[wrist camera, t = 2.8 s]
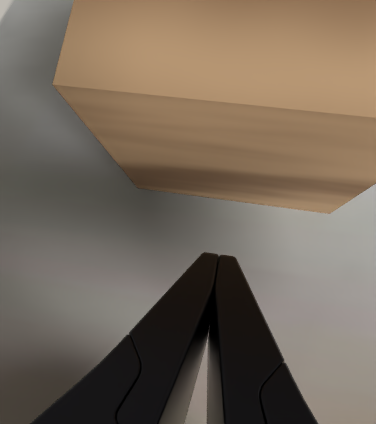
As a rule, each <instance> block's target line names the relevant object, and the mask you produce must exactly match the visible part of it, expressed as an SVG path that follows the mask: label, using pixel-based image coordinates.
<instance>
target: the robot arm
mask: <svg viewBox="0 0 376 424" xmlns="http://www.w3.org/2000/svg"><path fill="white" fill-rule="evenodd" d="M209 326H210V327H209ZM208 332H209V336H208ZM207 338H208V371H207V424H318V422H317V421H316V419H315V417H314V416H313V414H312V412H311V411H310V409H309V407H308V405H307V404H306V402H305V400H304V398H303V396H302V394H301V392H300V390H299V389H298V387H297V385H296V383H295V381H294V379H293V377H292V375H291V373H290V370H289V368H288V366H287V364H286V363H284V358H283V356H282V354H281V352H280V350H279V348H278V345H277V343H276V341H275V339H274V337H273V335H272V333H271V331H270V329H269V327H268V324H267V322H266V320H265V318H264V316H263V314H262V312H261V310H260V308H259V306H258V303H257V301H256V299H255V297H254V295H253V293H252V291H251V289H250V287H249V284H248V282H247V280H246V278H245V276H244V274H243V272H242V270H241V268H240V266H239V263H238V261H237V259H236V258H235V257H233V256H227V255H220V256H218V254H214V253H207V252H204V253H202V254H201V255H200V256H199V258H198V259H197V260H196V261H195V262H194V263H193V264H192V265H191V266H190V267H189V268H188V269H187V270H186V272H185V273H184V274H183V275H182V276H181V277H180V278H179V279H178V280H177V281H176V282H175V283H174V285H173V286H172V287H171V288H170V289H169V290H168V291H167V292H166V293H165V294H164V295H163V296H162V298H161V299H160V300H159V301H158V302H157V303H156V304H155V305H154V306H153V307H152V308H151V309H150V310H149V312H148V313H147V314H146V315H145V316H144V317H143V318H142V319H141V320H140V321H139V322H138V323H137V325H136V326H135V327H134V328H133V329H132V330H131V331H130V332H129V335H126V336H125V337H124V338H123V339H122V341H121V342H120V343H119V344H118V345H117V346H116V347H115V348H114V349H113V350H112V351H111V352H110V353H109V354H108V355H107V356H106V357H105V358H104V359H103V360H102V361H101V362H100V363H99V364H98V365H97V366H96V367H95V368H94V369H92V370H91V371H90V372H89V373H88V374H87V375H86V376H85V377H84V378H82V379H81V380H80V381H79V382H78V383H77V384H75V385H74V386H73V387H72V388H71V389H70V390H68V391H67V392H66V393H65V394H64V395H63V396H61V397H60V398H59V399H58V400H57V401H56V402H54V403H53V404H52V405H51V406H50V407H49V408H48V409H46V410H45V411H44V412H43V413H42V414H41V415H39V416H38V417H37V418H36V419H35V420H34V421H32V422H31V423H30V424H184V422H185V419H186V415H187V412H188V408H189V404H190V401H191V397H192V393H193V390H194V386H195V383H196V379H197V375H198V372H199V368H200V365H201V361H202V357H203V354H204V350H205V346H206V342H207Z"/></svg>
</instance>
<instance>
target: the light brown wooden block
mask: <svg viewBox="0 0 376 424" xmlns="http://www.w3.org/2000/svg"><path fill="white" fill-rule="evenodd" d="M52 85H53V86H54V87H55V88H56V90H57V91H58V92H59V93H60V95H61V96H62V97H63V98H64V99H65V101H66V102H67V103H68V104H69V105H70V107H71V108H72V109H73V110H74V111H75V113H76V114H77V115H78V116H79V118H80V119H81V120H82V121H83V122H84V124H85V125H86V126H87V127H88V128H89V130H90V131H91V132H92V133H93V134H94V136H95V137H96V138H97V139H98V141H99V142H100V143H101V144H102V145H103V147H104V148H105V149H106V150H107V151H108V153H109V154H110V155H111V156H112V157H113V159H114V160H115V161H116V162H117V164H118V165H119V166H120V167H121V168H122V170H123V171H124V172H125V173H126V174H127V176H128V177H129V178H130V179H131V181H132V182H133V183H134V184H135V185H136V187H137V188H141V189H149V190H156V191H164V192H171V193H178V194H186V195H193V196H201V197H208V198H216V199H223V200H231V201H238V202H245V203H253V204H260V205H268V206H275V207H283V208H290V209H298V210H305V211H312V212H320V213H327V214H330V213H331V212H333V211H335V210H336V209H338V208H339V207H341V206H342V205H344V204H345V203H347V202H348V201H350V200H351V199H353V198H354V197H356V196H357V195H359V194H360V193H362V192H363V191H365V190H367V189H368V188H370V187H371V186H373V185H374V184H376V0H74V2H73V6H72V10H71V14H70V18H69V21H68V25H67V29H66V33H65V37H64V41H63V45H62V49H61V53H60V56H59V60H58V64H57V68H56V72H55V76H54V80H53V84H52Z"/></svg>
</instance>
